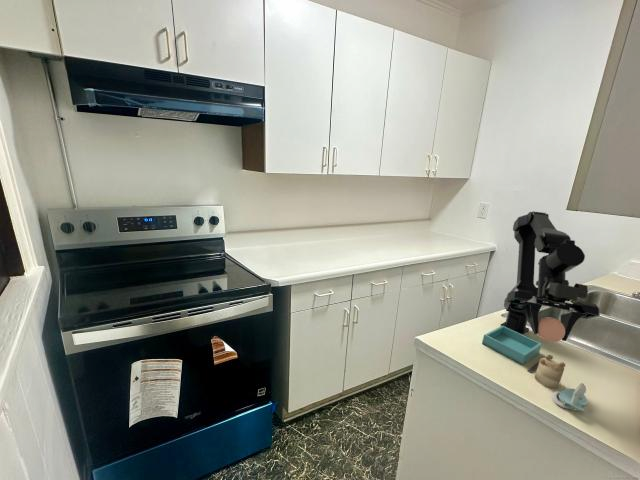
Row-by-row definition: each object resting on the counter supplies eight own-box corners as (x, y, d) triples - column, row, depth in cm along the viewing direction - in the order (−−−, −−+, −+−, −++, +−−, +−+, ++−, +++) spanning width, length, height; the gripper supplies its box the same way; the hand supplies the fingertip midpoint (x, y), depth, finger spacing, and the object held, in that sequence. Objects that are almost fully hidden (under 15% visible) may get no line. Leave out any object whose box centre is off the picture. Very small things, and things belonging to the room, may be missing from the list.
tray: (500, 333, 101) (502, 325, 100) (539, 352, 92) (542, 343, 91) (481, 343, 94) (484, 334, 94) (521, 365, 86) (524, 355, 85)
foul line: (548, 355, 91) (548, 354, 91) (552, 356, 91) (552, 356, 91) (527, 370, 83) (527, 370, 83) (531, 373, 83) (531, 372, 83)
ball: (538, 327, 84) (547, 309, 81) (563, 342, 79) (573, 323, 77) (527, 335, 81) (536, 316, 78) (553, 350, 76) (563, 331, 74)
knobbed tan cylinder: (539, 372, 83) (545, 352, 82) (561, 383, 79) (568, 363, 78) (531, 378, 80) (537, 358, 79) (553, 391, 77) (560, 370, 75)
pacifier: (548, 403, 73) (581, 419, 69) (554, 380, 71) (588, 395, 67) (555, 389, 78) (586, 403, 74) (561, 367, 76) (593, 380, 72)
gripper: (526, 260, 78) (522, 324, 73) (614, 277, 73) (617, 345, 69) (508, 272, 88) (503, 328, 83) (585, 288, 84) (585, 348, 79)
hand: (549, 337), depth 78 cm, fingers closed on ball, 6 cm apart
